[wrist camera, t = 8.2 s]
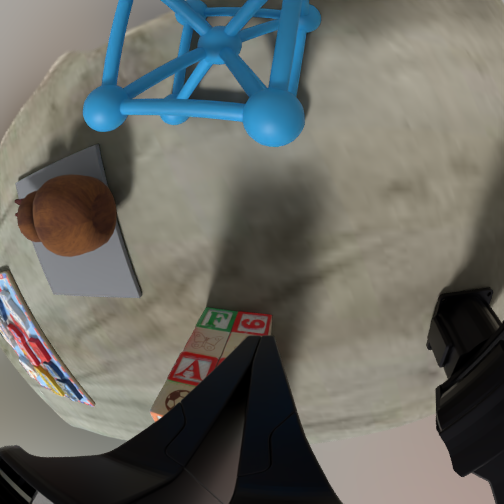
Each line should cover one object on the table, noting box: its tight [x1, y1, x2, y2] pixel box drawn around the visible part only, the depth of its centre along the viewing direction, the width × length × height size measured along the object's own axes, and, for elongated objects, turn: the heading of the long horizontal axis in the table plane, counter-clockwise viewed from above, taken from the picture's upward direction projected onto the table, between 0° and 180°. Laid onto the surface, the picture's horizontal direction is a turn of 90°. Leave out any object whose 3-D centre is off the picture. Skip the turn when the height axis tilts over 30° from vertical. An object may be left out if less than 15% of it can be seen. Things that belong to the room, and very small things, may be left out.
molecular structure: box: [83, 0, 321, 147], centre depth 12 cm, size 10×10×10 cm
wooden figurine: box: [15, 174, 117, 257], centre depth 20 cm, size 7×6×15 cm
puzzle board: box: [0, 270, 95, 407], centre depth 39 cm, size 30×23×3 cm
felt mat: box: [15, 144, 142, 298], centre depth 25 cm, size 15×15×1 cm
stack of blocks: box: [150, 307, 272, 422], centre depth 24 cm, size 21×6×12 cm, turn 0°
